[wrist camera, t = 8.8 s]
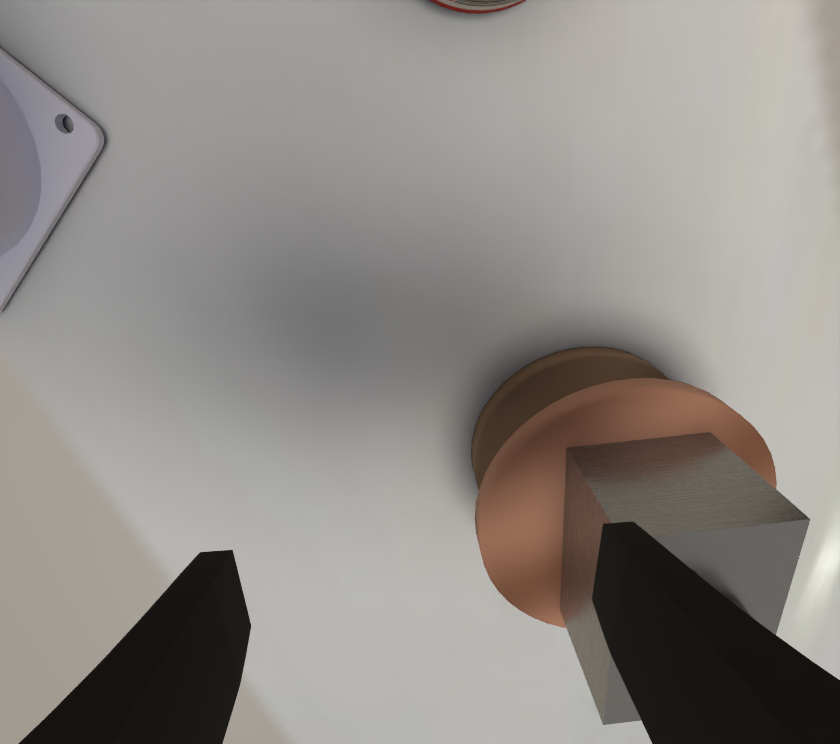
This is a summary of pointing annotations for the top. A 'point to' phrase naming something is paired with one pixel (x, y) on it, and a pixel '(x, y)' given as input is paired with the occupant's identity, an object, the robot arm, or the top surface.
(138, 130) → the top surface
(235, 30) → the top surface
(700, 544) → the block
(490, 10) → the beverage can
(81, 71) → the top surface
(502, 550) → the stand
